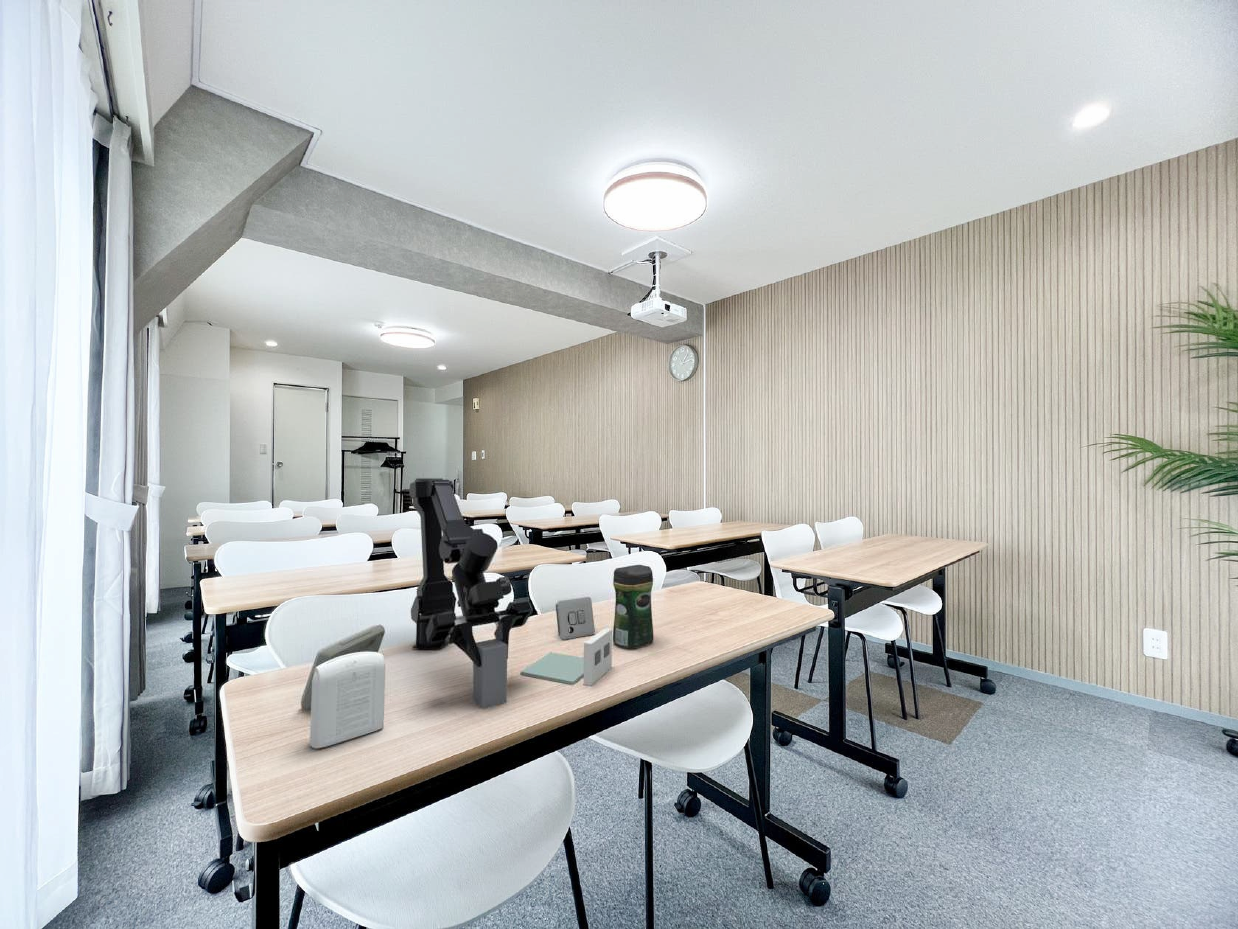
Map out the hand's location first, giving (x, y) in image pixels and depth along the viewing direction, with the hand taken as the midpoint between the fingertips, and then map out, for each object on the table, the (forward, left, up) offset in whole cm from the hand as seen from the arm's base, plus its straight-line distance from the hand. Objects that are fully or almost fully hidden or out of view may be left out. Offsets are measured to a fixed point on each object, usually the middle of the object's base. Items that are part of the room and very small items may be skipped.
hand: (493, 662), depth 88 cm
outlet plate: (+18, +13, -7) cm, 23 cm away
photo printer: (-19, -12, -7) cm, 24 cm away
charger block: (-1, +1, -7) cm, 7 cm away
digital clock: (-28, +2, -7) cm, 29 cm away
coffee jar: (+24, +33, -7) cm, 42 cm away
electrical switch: (+9, +38, -7) cm, 40 cm away
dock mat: (+10, +16, -7) cm, 20 cm away
